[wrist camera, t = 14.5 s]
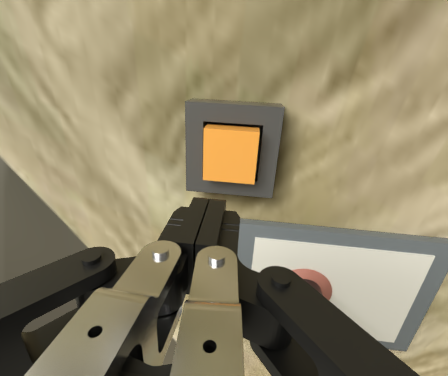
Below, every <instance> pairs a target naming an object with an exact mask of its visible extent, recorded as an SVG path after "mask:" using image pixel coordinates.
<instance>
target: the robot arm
mask: <svg viewBox="0 0 448 376" xmlns="http://www.w3.org/2000/svg"><path fill="white" fill-rule="evenodd" d="M239 227H240V217H239V215H238V214H237V212H235V211H226V200H218V199H206V198H195V197H194V198H193V200H192V202H191V204H190V206H189V207H180V208H179V209H177V210H176V211H174V212H173V214H172V216H171V218H170V219H169V221H168V223H167V225H166V226H165V228H164V230H163V232H162V233H161V235H160V237H159V239H158V241H155V242H152V243H150V244H148V245H146V246H145V247H144V248H143V249H142V250H141V251H140V252H139V254H138V255H137V256H135V257H129V258H121V259H115V254H114V252H113V251H112V250H111V249H109V248H106V247H93V248H88V249H85V250H83V251H80V252H78V253H75V254H73V255H70V256H68V257H65V258H63V259H60V260H58V261H55V262H53V263H51V264H48V265H45V266H43V267H40V268H38V269H35V270H33V271H30V272H28V273H25V274H23V275H21V276H18V277H16V278H13V279H11V280H8V281H6V282H3V283H1V284H0V376H244V354H243V338H245V339H247V340H250V345H251V347H252V349H253V351H254V352H255V354H256V355H257V356H258V358H259V359H260V361H261V362H262V363H263V365H264V366H265V367H266V369H267V370H268V372H269V373H270V374H271V376H419V375H418V374H417V373H416V372H414V371H413V370H412V369H411V368H410V367H408V366H407V365H406V364H405V363H404V362H402V361H401V360H400V359H399V358H398V357H396V356H395V355H394V354H393V353H392V352H390V351H389V350H388V349H387V348H386V347H384V346H383V345H382V344H381V343H380V342H378V341H377V340H376V339H375V338H373V337H372V336H371V335H370V334H369V333H367V332H366V331H365V330H364V329H363V328H361V327H360V326H359V325H358V324H357V323H355V322H354V321H353V320H352V319H351V318H349V317H348V316H347V315H346V314H345V313H343V312H342V311H341V310H340V309H339V308H337V307H336V306H335V305H334V304H333V303H331V302H330V301H329V300H328V299H326V298H325V297H324V296H323V295H322V294H320V293H319V292H318V291H317V290H316V289H314V288H313V287H312V286H311V285H310V284H308V283H307V282H306V281H305V280H304V279H302V278H301V277H300V276H299V275H298V274H296V273H295V272H294V271H292V270H290V269H288V268H285V267H281V266H270V267H266V268H264V269H263V270H261V272H260V273H259V272H257V271H254V270H251V269H249V268H247V267H246V266H244V265H243V264H242V263H241V262H240V260H239V258H238V240H239ZM185 294H189V299H188V300H186V301H185V304H184V308H183V313H182V304H183V301H184V298H185ZM73 299H76V303H77V307H78V308H76V309H74V310H72V311H70V312H68V313H66V314H65V315H63V316H61V317H59V318H57V319H55V320H54V321H52V322H50V323H48V324H46V325H44V326H42V327H40V328H39V329H37V330H35V331H32V332H27V333H26V332H22V330H23V329H24V327H25V326H26V325H27V324H28V323H29V322H31V321H32V320H34V319H36V318H38V317H40V316H42V315H44V314H46V313H47V312H49V311H51V310H53V309H55V308H57V307H59V306H61V305H63V304H65V303H67V302H69V301H71V300H73ZM181 313H182V318H181V323H180V328H179V333H178V338H177V343H176V348H175V353H174V358H173V363H172V364H168V365H162V363H163V360H164V357H165V354H166V352H167V350H168V347H169V344H170V341H171V339H172V337H173V334H174V331H175V329H176V326H177V324H178V321H179V318H180V316H181Z"/></svg>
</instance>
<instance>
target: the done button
mask: <svg viewBox="0 0 448 376" xmlns="http://www.w3.org/2000/svg"><path fill="white" fill-rule="evenodd" d="M259 135H260V129H259V127H246V126H231V125H217V124H207V125H206V126H205V127H204V135H203V180H208V181H220V182H231V183H243V184H254V183H255V173H256V164H257V154H258V145H259Z"/></svg>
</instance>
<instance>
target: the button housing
mask: <svg viewBox="0 0 448 376" xmlns="http://www.w3.org/2000/svg"><path fill="white" fill-rule="evenodd" d="M284 109H285V107H284V106H283V105H282V104H274V103H258V102H241V101H225V100H209V99H190V100H187V101H185V127H186V191H197V192H208V193H219V194H231V195H242V196H253V197H264V198H272V195H273V188H274V181H275V174H276V167H277V159H278V152H279V145H280V138H281V131H282V124H283V116H284ZM207 124H217V125H231V126H246V127H259V129H260V135H259V145H258V154H257V164H256V173H255V183H254V184H243V183H231V182H220V181H208V180H203V135H204V127H205V126H206V125H207Z"/></svg>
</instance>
